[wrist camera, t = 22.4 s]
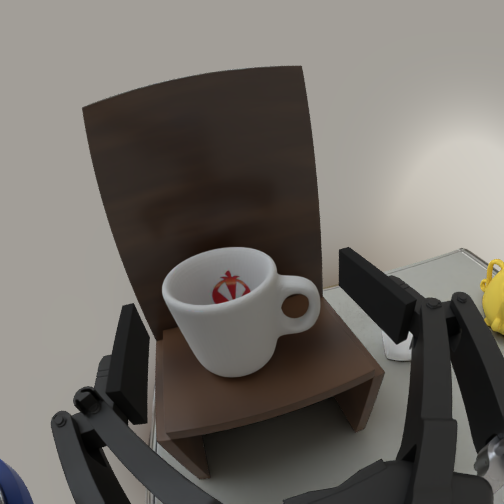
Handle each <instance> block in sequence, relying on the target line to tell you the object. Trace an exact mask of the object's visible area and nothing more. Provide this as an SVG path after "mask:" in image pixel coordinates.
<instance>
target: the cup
mask: <svg viewBox="0 0 504 504" xmlns="http://www.w3.org/2000/svg"><path fill="white" fill-rule="evenodd" d="M162 294H163V298H164V300H165V302H166V304H167V306H168V308H169V310H170V312H171V314H172V315H173V317H174V319H175V321H176V323H177V325H178V327H179V328H180V330H181V332H182V334H183V335H184V337H185V339H186V341H187V342H188V344H189V346H190V348H191V349H192V351H193V353H194V354H195V356H196V358H197V359H198V360H199V362H200V363H201V364H202V365H203V366H204V367H205V368H206V369H207V370H209V371H210V372H212V373H214V374H217V375H219V376H223V377H242V376H246V375H249V374H251V373H254V372H256V371H258V370H259V369H260V368H262V367H263V366H264V365H265V364H266V363H267V362H268V361H269V360H270V358H271V357H272V355H273V353H274V350H275V347H276V342H277V339H278V338H279V337H280V336H282V335H286V334H293V333H300V332H303V331H306V330H308V329H310V328H311V327H312V326H313V325H314V324H315V322H316V320H317V318H318V316H319V313H320V296H319V293H318V290H317V288H316V286H315V285H314V284H313V283H312V281H310V280H308V279H306V278H304V277H299V276H286V275H279V274H278V273H277V268H276V265H275V263H274V261H273V260H272V258H271V257H270V256H268V255H267V254H265V253H264V252H261V251H259V250H256V249H252V248H245V247H228V248H220V249H214V250H210V251H206V252H203V253H200V254H197V255H195V256H193V257H190V258H188V259H187V260H185V261H183V262H181V263H180V264H178V265H177V266H176V267H175V268H173V269H172V270H171V271H170V272H169V274H168V275H167V276H166V278H165V280H164V282H163V286H162ZM292 294H303V295H305V296H306V297H307V298H308V300H309V307H308V310H307V312H306V313H305V314H304V315H303V316H301V317H299V318H289V317H287V316H286V315H285V314H284V313H283V312H282V309H281V307H282V304H283V301H284V300H285V299H286V298H287V297H288V296H290V295H292Z"/></svg>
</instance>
